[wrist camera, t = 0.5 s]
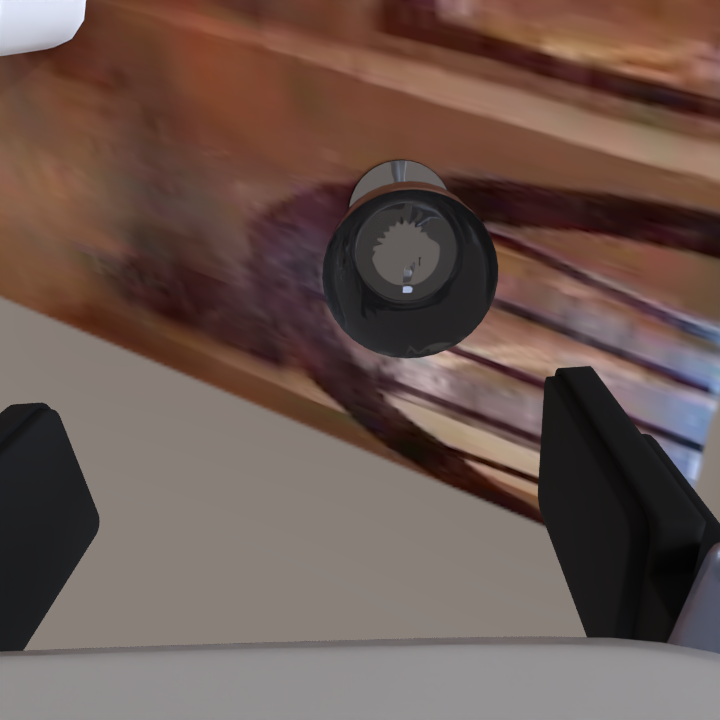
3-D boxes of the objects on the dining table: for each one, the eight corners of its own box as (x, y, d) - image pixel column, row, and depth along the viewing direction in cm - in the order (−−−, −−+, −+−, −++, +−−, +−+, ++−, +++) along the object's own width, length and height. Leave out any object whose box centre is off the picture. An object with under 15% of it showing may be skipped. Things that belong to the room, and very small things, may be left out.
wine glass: (452, 270, 40) (488, 360, 27) (342, 268, 40) (323, 357, 27) (462, 153, 37) (509, 189, 23) (342, 152, 37) (319, 186, 23)
